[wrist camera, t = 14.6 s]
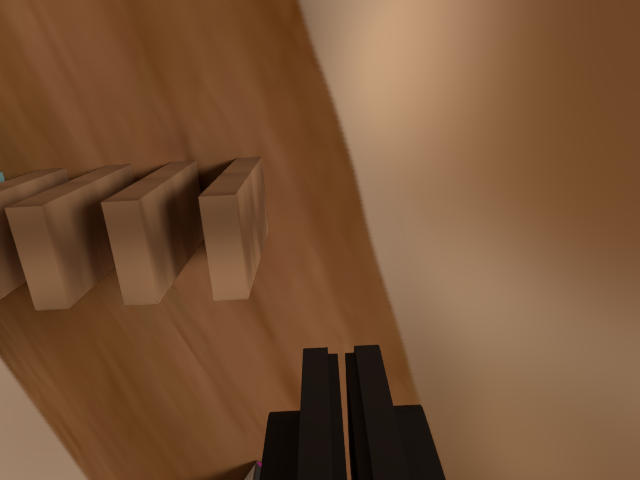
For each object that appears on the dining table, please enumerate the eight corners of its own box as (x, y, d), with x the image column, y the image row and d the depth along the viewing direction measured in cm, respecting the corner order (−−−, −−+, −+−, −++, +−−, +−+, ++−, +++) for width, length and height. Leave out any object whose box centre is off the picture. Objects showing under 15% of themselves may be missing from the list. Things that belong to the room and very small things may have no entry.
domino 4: (268, 230, 30) (247, 299, 21) (245, 232, 30) (213, 300, 21) (261, 156, 29) (235, 194, 19) (236, 158, 29) (198, 196, 19)
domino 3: (207, 234, 30) (158, 303, 21) (183, 235, 30) (124, 305, 21) (196, 160, 29) (137, 200, 19) (171, 161, 29) (100, 202, 19)
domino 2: (145, 237, 30) (69, 308, 21) (121, 238, 31) (35, 310, 21) (130, 164, 29) (41, 205, 19) (106, 165, 29) (4, 208, 19)
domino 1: (83, 241, 31) (-20, 313, 21) (60, 242, 31) (-53, 314, 21) (65, 167, 29) (-55, 210, 19) (41, 169, 29) (-92, 212, 19)
